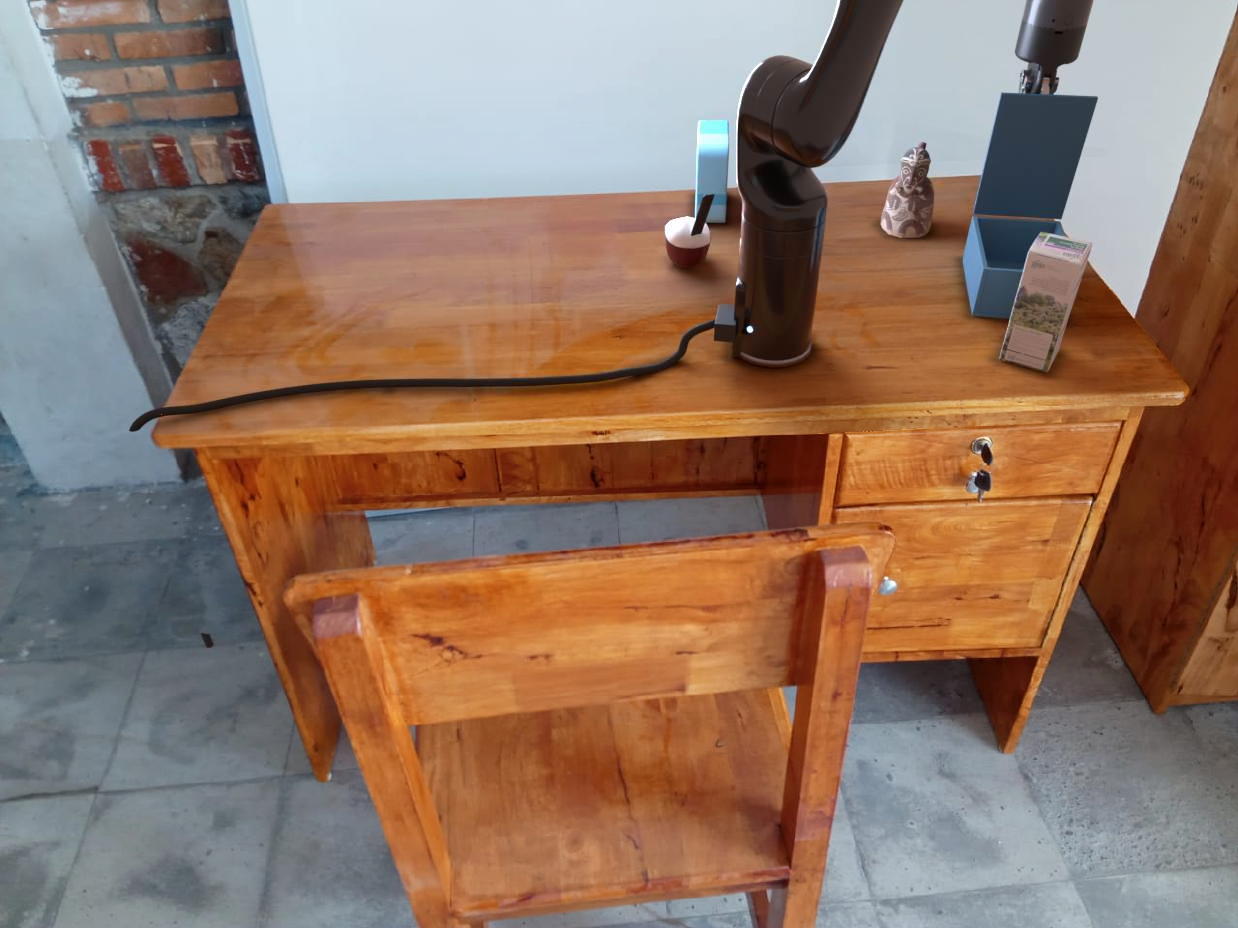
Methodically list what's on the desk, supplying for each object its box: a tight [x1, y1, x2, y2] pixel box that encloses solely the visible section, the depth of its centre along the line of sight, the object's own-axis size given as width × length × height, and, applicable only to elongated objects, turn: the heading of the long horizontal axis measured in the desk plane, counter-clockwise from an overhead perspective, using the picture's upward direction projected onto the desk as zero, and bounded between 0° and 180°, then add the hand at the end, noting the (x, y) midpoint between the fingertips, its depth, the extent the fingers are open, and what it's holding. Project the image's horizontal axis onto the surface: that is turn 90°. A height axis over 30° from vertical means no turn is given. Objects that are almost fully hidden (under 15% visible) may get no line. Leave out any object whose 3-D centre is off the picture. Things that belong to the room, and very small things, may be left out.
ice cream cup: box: [664, 194, 715, 268], centre depth 130 cm, size 10×6×12 cm, turn 2°
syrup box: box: [998, 232, 1093, 374], centre depth 109 cm, size 6×6×14 cm
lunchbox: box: [962, 215, 1067, 320], centre depth 124 cm, size 15×11×7 cm
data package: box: [694, 120, 730, 224], centre depth 143 cm, size 12×4×12 cm, turn 175°
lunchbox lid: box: [972, 92, 1099, 220], centre depth 122 cm, size 16×11×1 cm
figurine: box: [880, 141, 935, 239], centre depth 137 cm, size 7×7×12 cm
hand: (1020, 156), depth 128 cm, fingers closed
